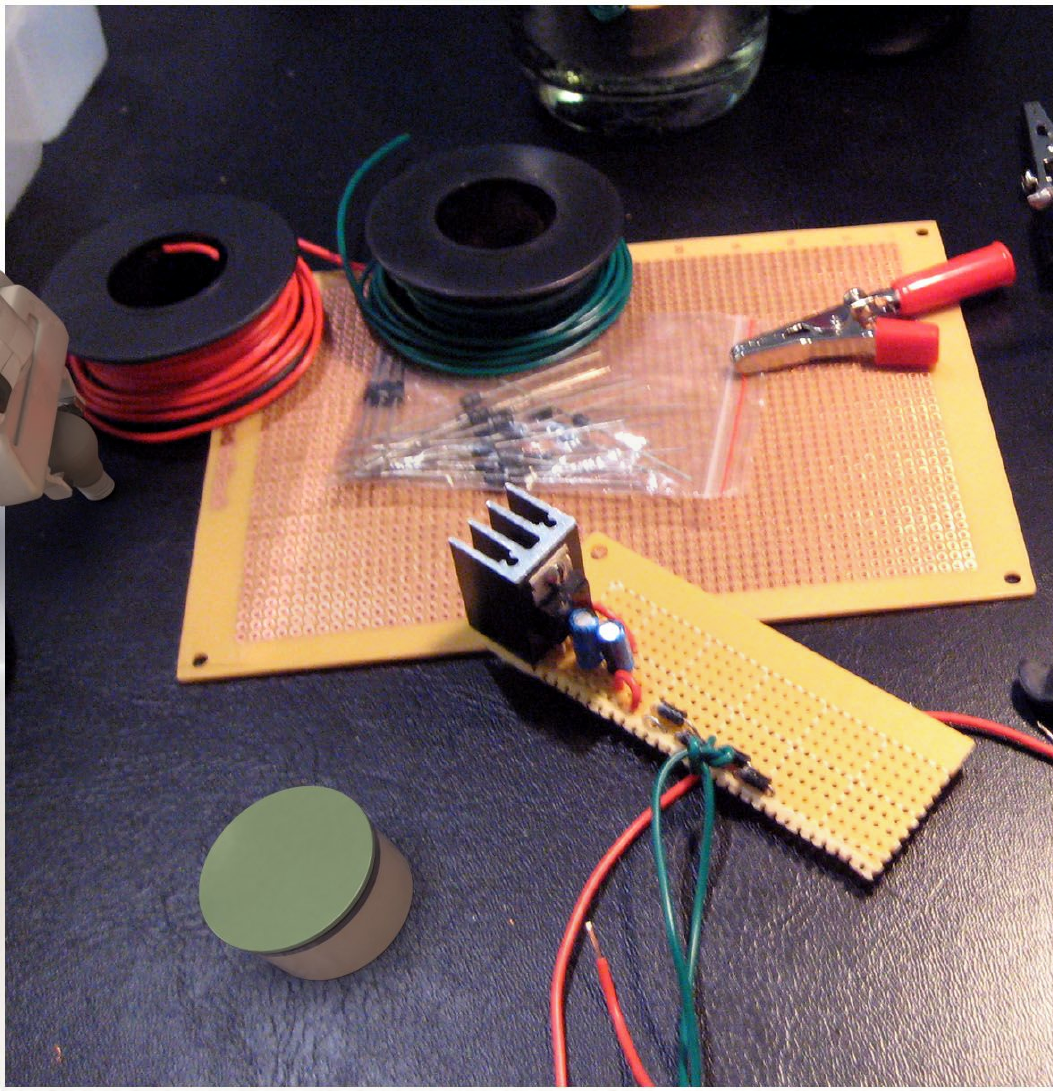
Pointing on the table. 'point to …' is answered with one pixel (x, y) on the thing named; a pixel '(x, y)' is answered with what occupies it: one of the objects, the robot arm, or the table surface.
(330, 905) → the pot
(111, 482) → the light bulb
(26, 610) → the table surface
